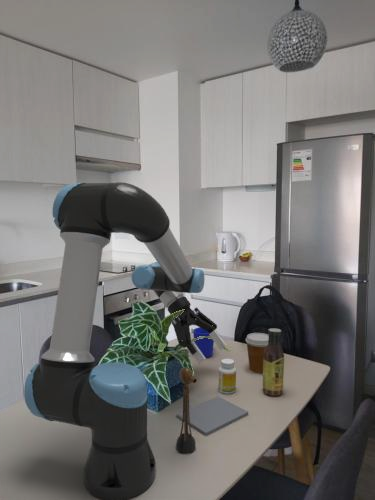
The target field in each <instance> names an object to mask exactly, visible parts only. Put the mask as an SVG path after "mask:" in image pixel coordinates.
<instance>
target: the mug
mask: <svg viewBox="0 0 375 500" xmlns="http://www.w3.org/2000/svg"><path fill="white" fill-rule="evenodd" d="M209 334H210V333H209V332H207V331H205V330H203V329H202V328H200V327H196V328H194V329H193V333H192V335H193V339H194V338H197V337H199V336H210V335H209ZM193 341H194V340H193ZM194 343H195V344H196V345H197V347H198V348H199V350H200V351H201V352H202V354H203V355H204V357H205V358H206V359H207V358H210V357H212V355H213V354H214V353H213V352H214V344H215V342H214V341H213V340H212V339H208V338H203V339H199V340H196V341H194Z"/></svg>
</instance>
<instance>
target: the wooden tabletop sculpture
mask: <svg viewBox="0 0 375 500" xmlns="http://www.w3.org/2000/svg"><path fill="white" fill-rule="evenodd" d="M193 375H194V374H193V371H192V369H190V368H189V367H187V366H183V367H181V369H180V371H179V378H180V380H181V382H182V384H184V386H182V396H183V397H182V411H183V418H182V420H181V428H180V433H179V435H178V437H177V439H176V443H175V445H176V446H175V450H176V451H177V452H178V453H179V454H183V455H187V454H192V453H194V452H195V451H196V439H195V437H194V436H193V434H192V428H191V426H190V415H189V408H190V386H189V384H191V383H193V384H196V383H197V382H198V380H197V378H195V377H194V376H193ZM188 422H189V425H188ZM183 430H184V432H183Z"/></svg>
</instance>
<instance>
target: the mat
mask: <svg viewBox="0 0 375 500" xmlns="http://www.w3.org/2000/svg"><path fill="white" fill-rule="evenodd" d="M189 415H190V427H192V428H193V429H195V430H196V431H198V432H200V434H202V435H204V436H206V437H207V436H209V435H210V434H212V433H215V432H217V431H219V430H221V429H223V428H225V427H227V426H228V425H230V424H232V423H234V422H236V421H238V420H240V419H242V418H245V417H246V416H248V415H249V411H248V410H245V408H244V409H243V408H241V407H240V406H238V405H237V404H234V403H233V402H230V401H229V400H226V399H225V398H222V397H221V396H219V395H217V396H215V397H212V398H210V399H208V400H205V401H203V402H201V403H199V404H196V405H193V406H192V407H189ZM175 417H176V418H177V419H179V420H181V421H182V418H183V410H182V411H180V412H178V413H176V415H175ZM188 426H189V422H188Z"/></svg>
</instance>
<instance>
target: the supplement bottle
mask: <svg viewBox="0 0 375 500" xmlns="http://www.w3.org/2000/svg"><path fill="white" fill-rule="evenodd" d="M220 363H221V364H220V365H221V366H219V368H218V391H219V392H220V393H222V394H227V395H230V394H233V393H235V392H236V391H237V390H236V389H237V388H236V383H237V369H236V367H235V361H234V359H232V358H223V359H221V361H220Z"/></svg>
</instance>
